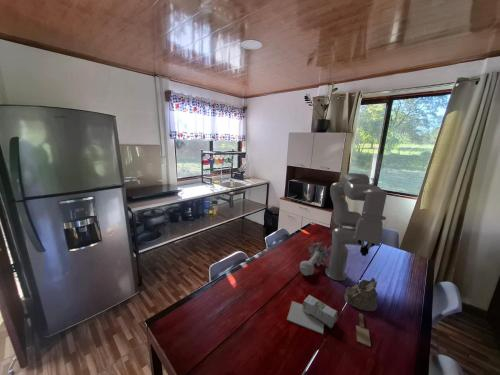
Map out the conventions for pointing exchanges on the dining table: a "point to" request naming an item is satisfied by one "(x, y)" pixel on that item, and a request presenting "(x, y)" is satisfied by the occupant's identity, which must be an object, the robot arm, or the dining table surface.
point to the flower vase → (313, 259)
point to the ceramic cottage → (362, 295)
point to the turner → (362, 332)
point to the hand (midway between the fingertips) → (363, 254)
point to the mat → (304, 318)
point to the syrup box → (320, 311)
